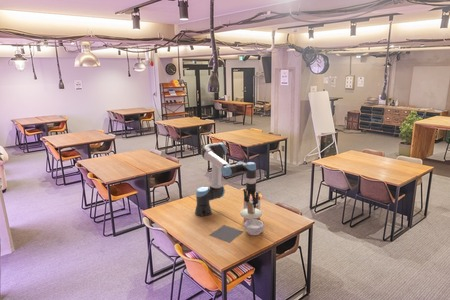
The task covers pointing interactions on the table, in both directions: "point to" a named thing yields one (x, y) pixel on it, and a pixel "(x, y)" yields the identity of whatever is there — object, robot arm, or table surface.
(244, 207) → the cracker box
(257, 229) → the paper bowls
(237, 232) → the mat
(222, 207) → the table surface
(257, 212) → the lid
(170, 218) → the table surface
